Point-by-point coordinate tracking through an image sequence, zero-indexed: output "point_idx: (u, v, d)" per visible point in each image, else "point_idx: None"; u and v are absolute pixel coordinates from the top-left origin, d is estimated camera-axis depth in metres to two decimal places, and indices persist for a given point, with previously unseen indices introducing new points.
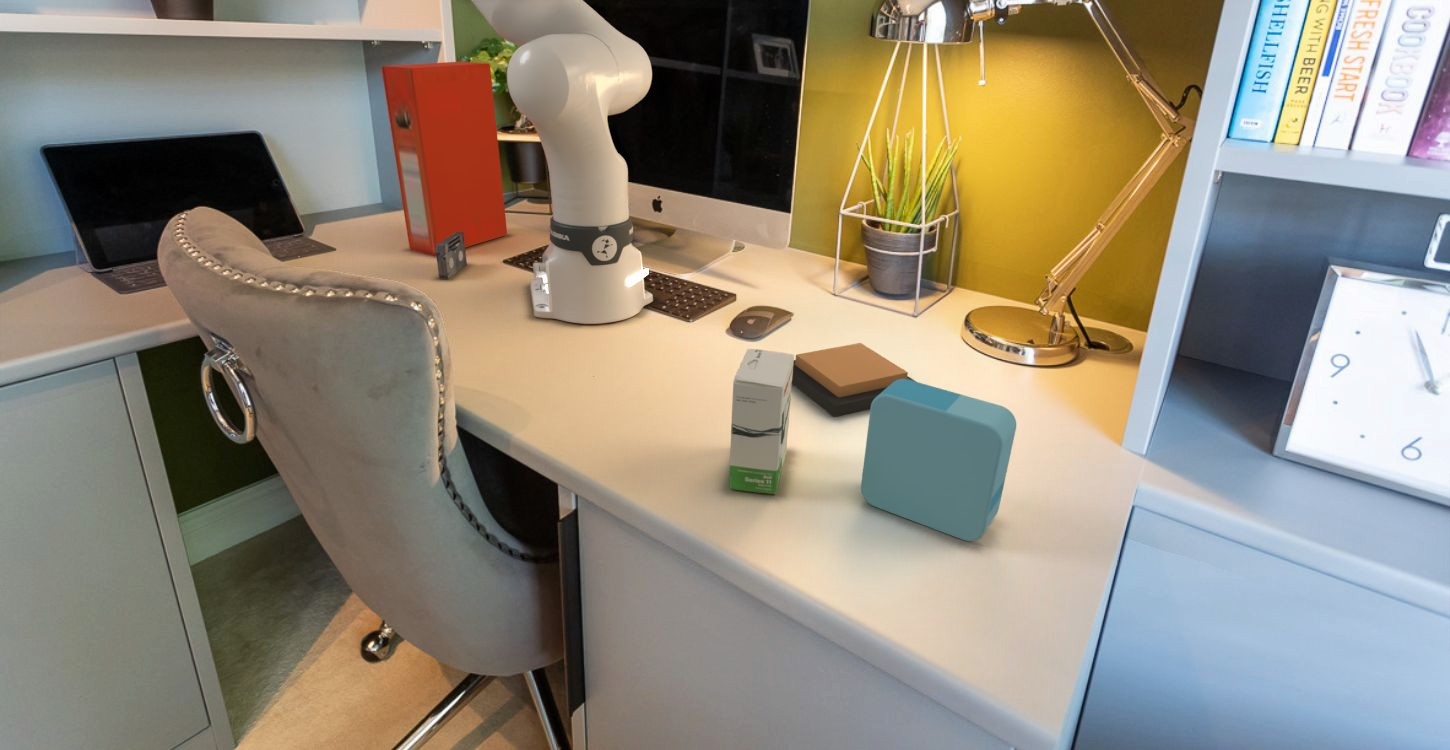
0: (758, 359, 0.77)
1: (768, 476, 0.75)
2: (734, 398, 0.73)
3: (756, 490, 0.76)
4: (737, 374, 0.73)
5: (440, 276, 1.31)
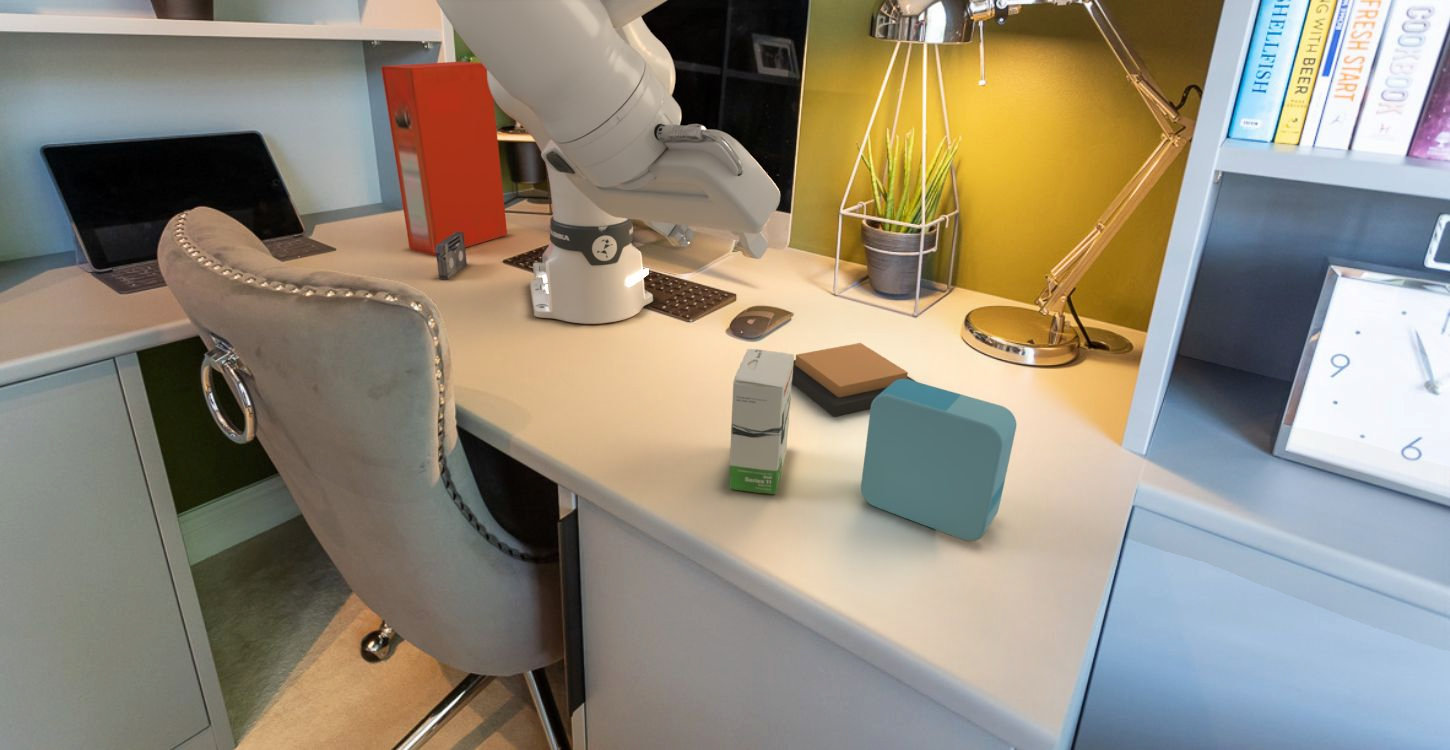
0: (758, 359, 0.77)
1: (768, 476, 0.75)
2: (734, 398, 0.73)
3: (756, 490, 0.76)
4: (737, 374, 0.73)
5: (440, 276, 1.31)
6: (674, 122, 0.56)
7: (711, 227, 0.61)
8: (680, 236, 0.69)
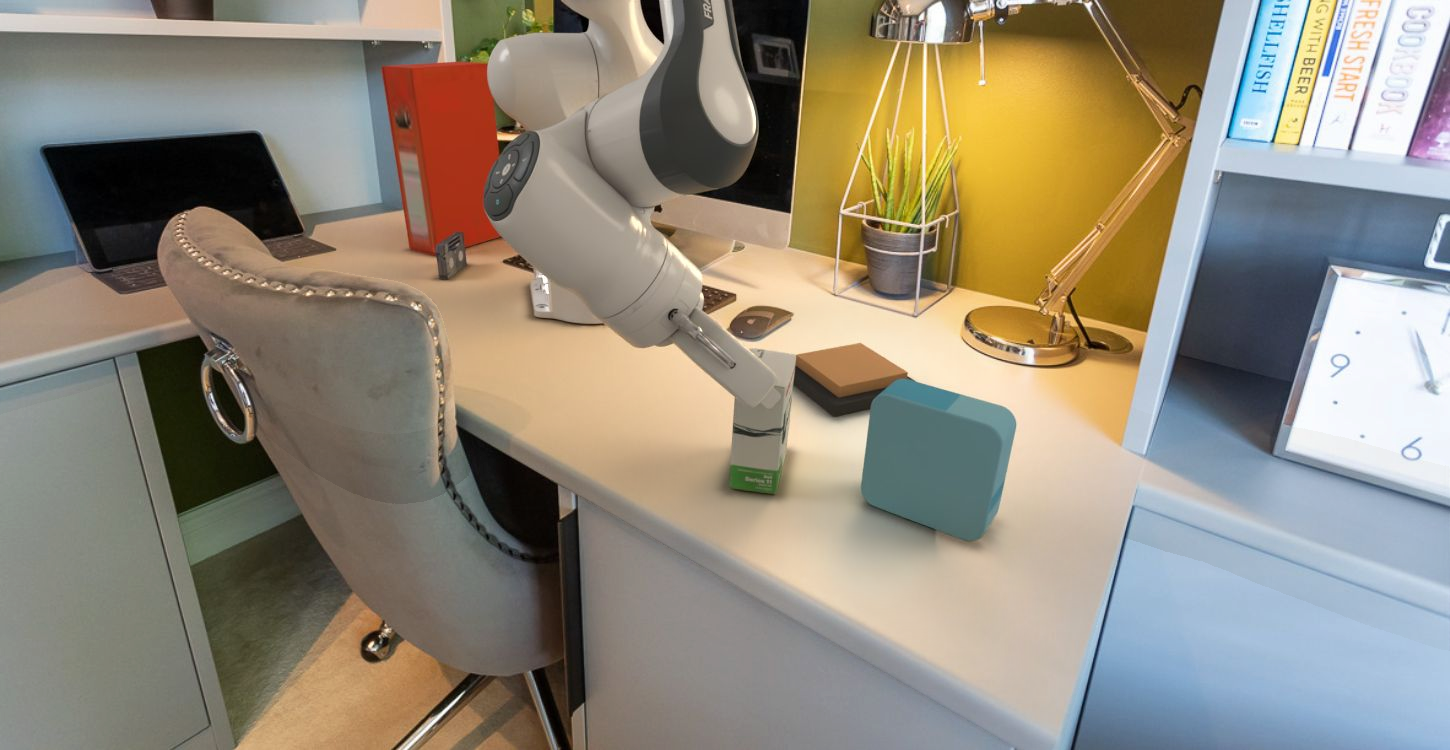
0: (761, 359, 0.77)
1: (768, 476, 0.75)
2: None
3: (756, 490, 0.76)
4: None
5: (440, 276, 1.31)
6: (690, 304, 0.64)
7: None
8: None
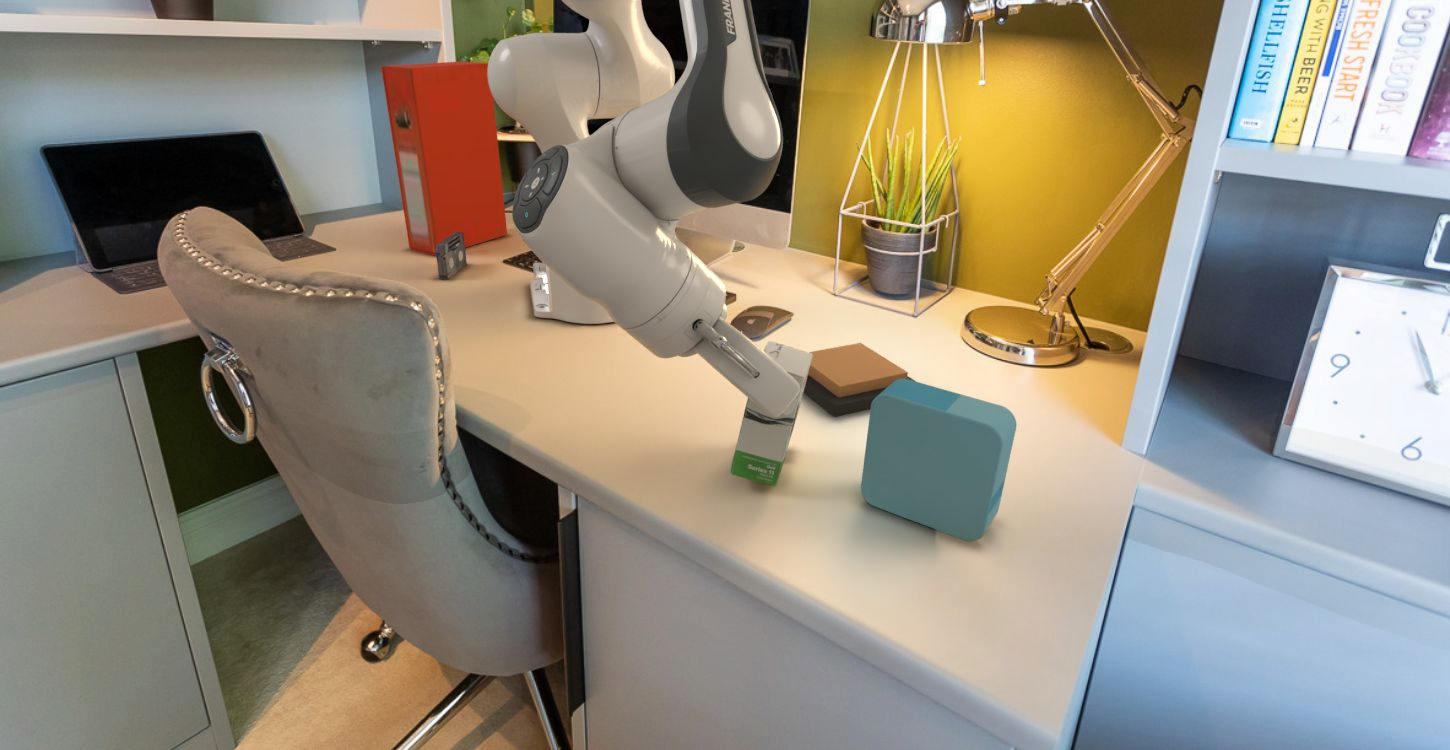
0: (780, 351, 0.77)
1: (772, 466, 0.75)
2: None
3: (757, 479, 0.76)
4: None
5: (440, 276, 1.31)
6: (713, 314, 0.65)
7: None
8: None
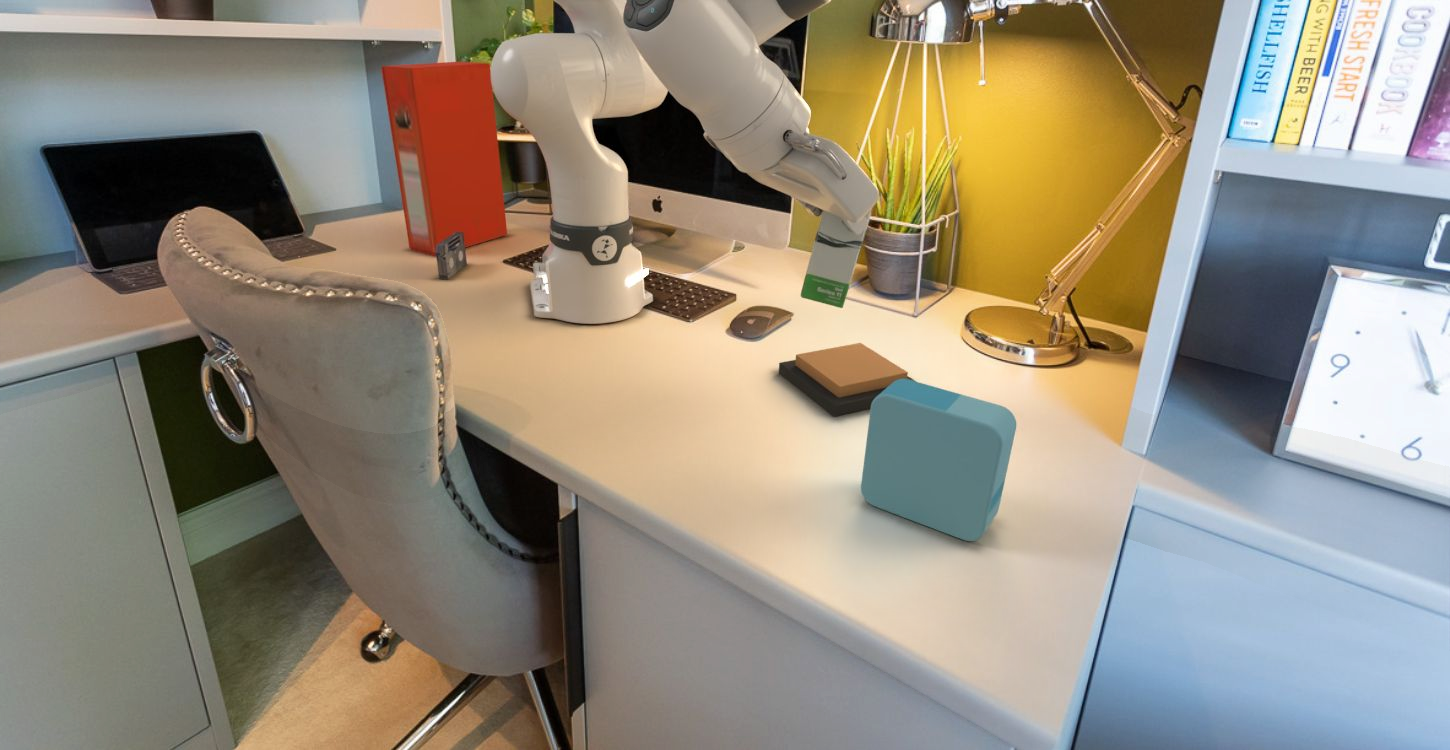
0: None
1: (839, 288, 0.82)
2: None
3: (825, 301, 0.83)
4: None
5: (440, 276, 1.31)
6: (801, 127, 0.71)
7: (825, 210, 0.75)
8: (814, 207, 0.84)
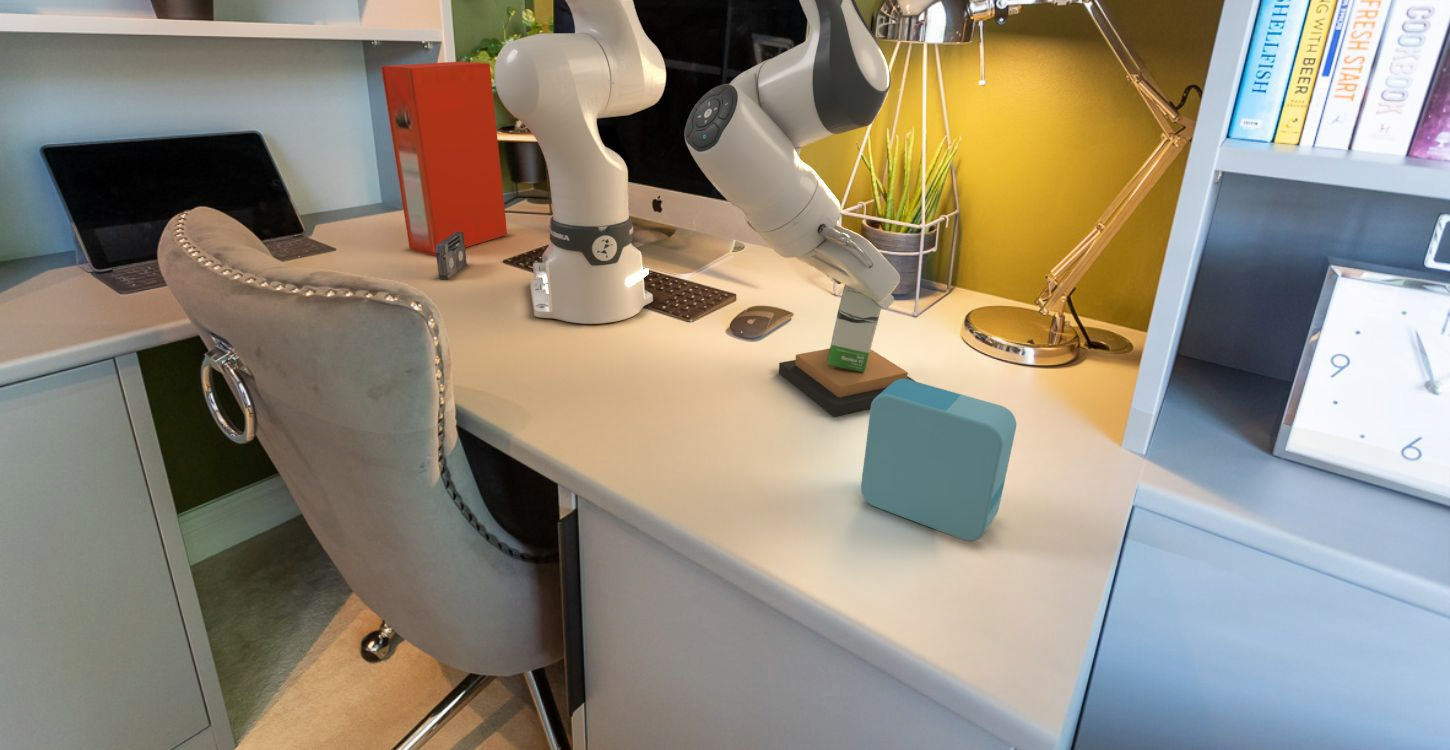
0: None
1: (861, 357, 0.94)
2: (845, 288, 0.91)
3: (849, 367, 0.95)
4: None
5: (440, 276, 1.31)
6: (833, 221, 0.83)
7: None
8: None
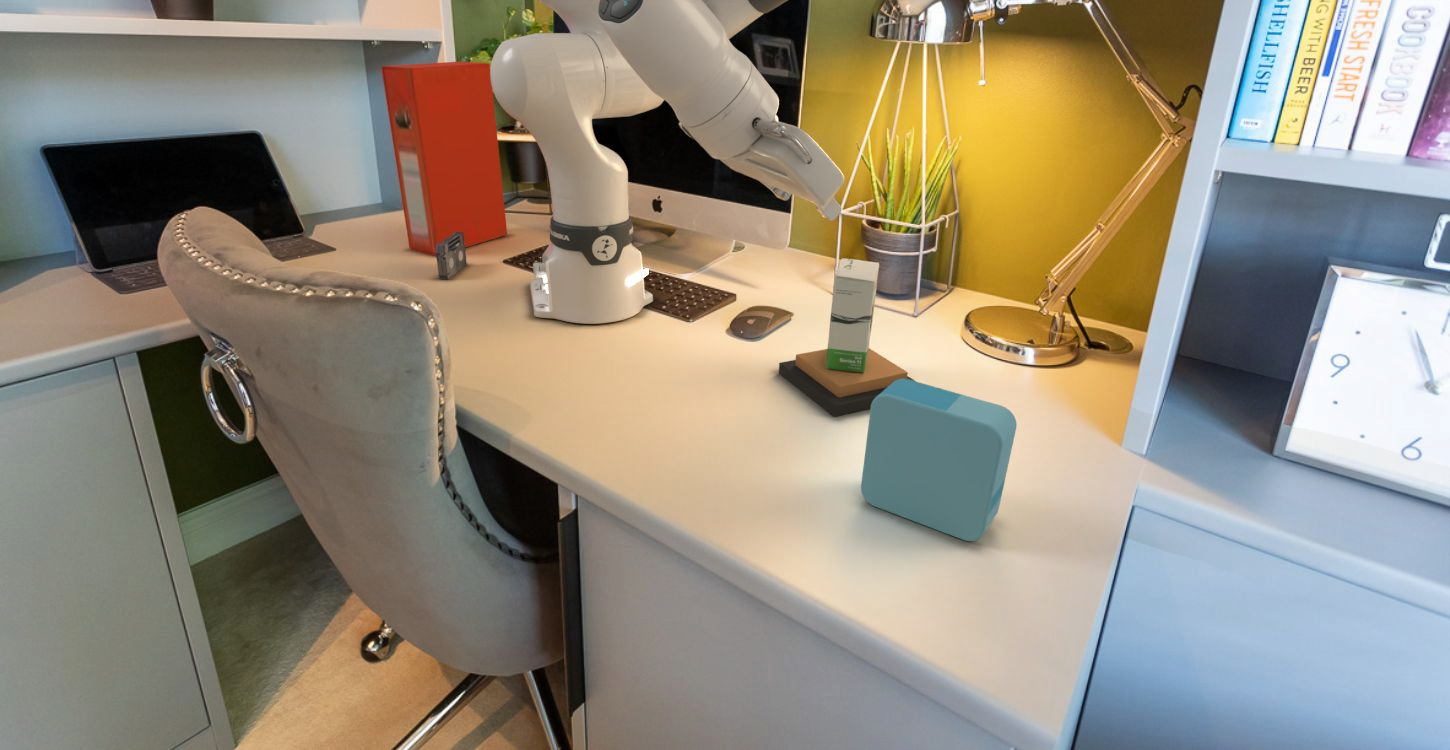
0: (852, 264, 0.95)
1: (858, 357, 0.94)
2: (835, 291, 0.92)
3: (848, 369, 0.95)
4: (837, 272, 0.92)
5: (440, 276, 1.31)
6: (770, 115, 0.75)
7: (794, 194, 0.79)
8: (782, 191, 0.88)
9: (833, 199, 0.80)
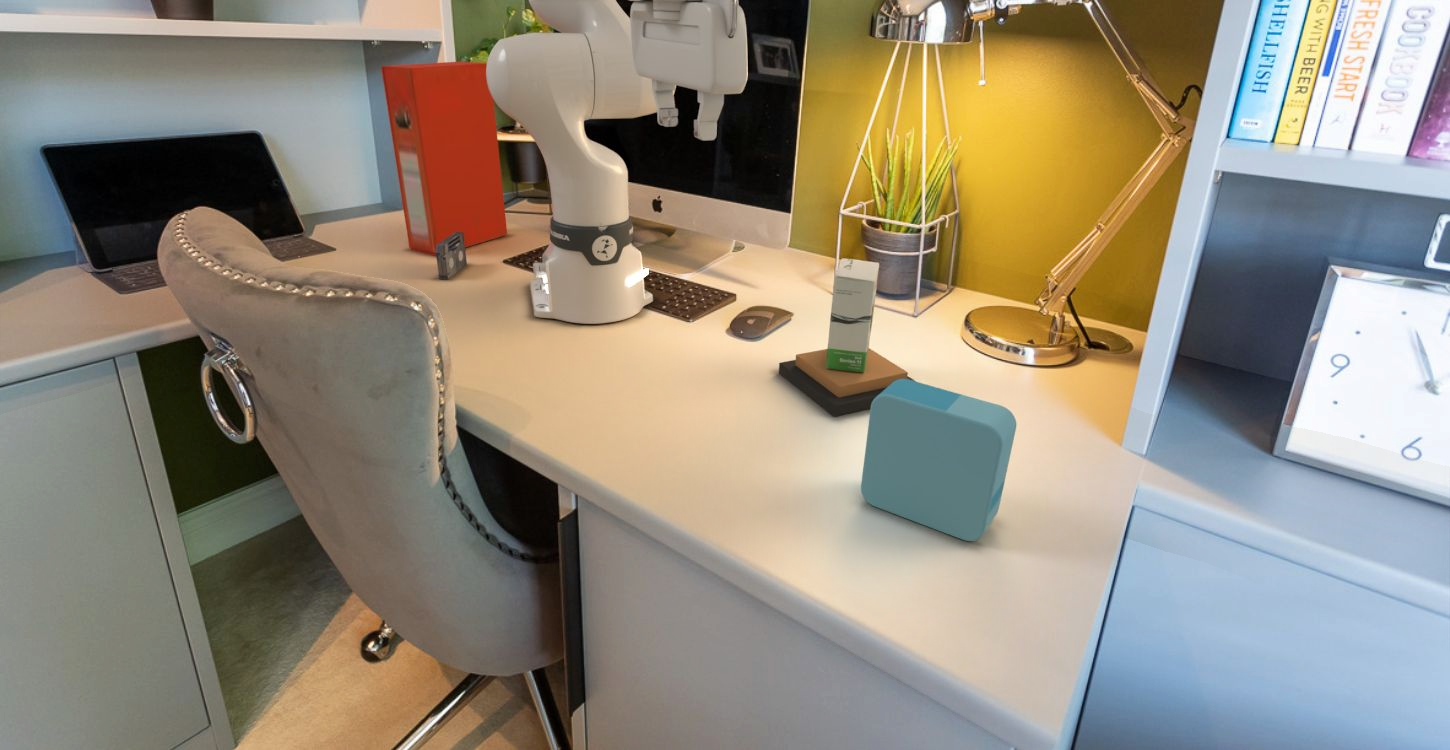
0: (852, 264, 0.95)
1: (858, 357, 0.94)
2: (835, 291, 0.92)
3: (848, 369, 0.95)
4: (837, 272, 0.92)
5: (440, 276, 1.31)
6: None
7: (687, 83, 0.74)
8: (667, 114, 0.83)
9: (716, 120, 0.75)
